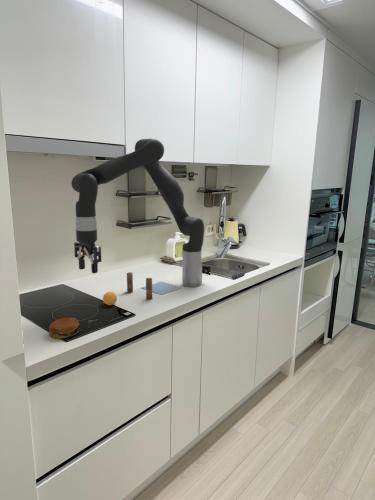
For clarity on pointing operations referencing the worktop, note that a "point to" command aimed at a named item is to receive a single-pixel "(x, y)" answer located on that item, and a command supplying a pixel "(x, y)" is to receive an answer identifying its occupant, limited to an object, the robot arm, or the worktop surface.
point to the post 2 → (148, 288)
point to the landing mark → (163, 288)
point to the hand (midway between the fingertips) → (88, 270)
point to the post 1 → (129, 282)
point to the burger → (64, 328)
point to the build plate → (206, 269)
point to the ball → (109, 298)
